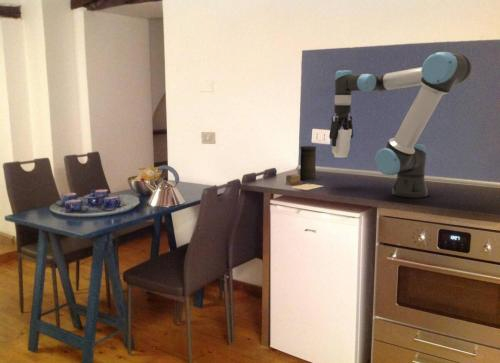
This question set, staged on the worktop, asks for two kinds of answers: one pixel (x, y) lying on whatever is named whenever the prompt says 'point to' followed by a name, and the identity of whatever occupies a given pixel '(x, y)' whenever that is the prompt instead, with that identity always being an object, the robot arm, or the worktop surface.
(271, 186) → the worktop surface
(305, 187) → the envelope
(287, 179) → the block
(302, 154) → the container
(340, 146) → the foam cup
